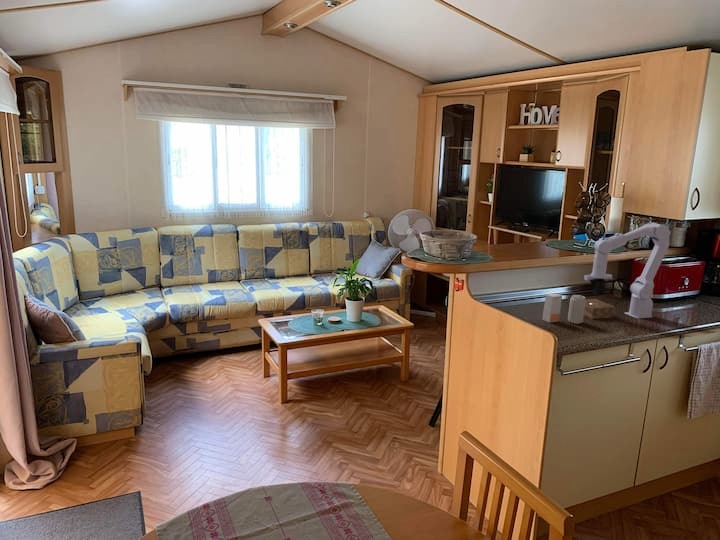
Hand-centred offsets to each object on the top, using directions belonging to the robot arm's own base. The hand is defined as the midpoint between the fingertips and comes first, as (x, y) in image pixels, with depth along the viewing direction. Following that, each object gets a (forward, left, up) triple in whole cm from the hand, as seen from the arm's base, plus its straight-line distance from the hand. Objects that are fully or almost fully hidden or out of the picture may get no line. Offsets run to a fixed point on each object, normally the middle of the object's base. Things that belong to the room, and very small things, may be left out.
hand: (595, 294), depth 258 cm
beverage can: (+18, +9, -10) cm, 22 cm away
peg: (0, 0, -8) cm, 8 cm away
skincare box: (+28, +5, -10) cm, 30 cm away
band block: (0, 0, -10) cm, 10 cm away
